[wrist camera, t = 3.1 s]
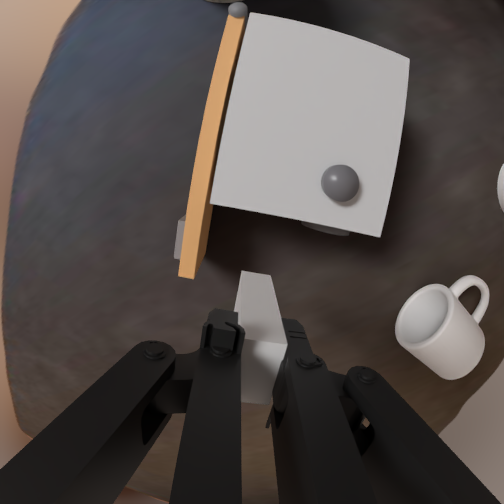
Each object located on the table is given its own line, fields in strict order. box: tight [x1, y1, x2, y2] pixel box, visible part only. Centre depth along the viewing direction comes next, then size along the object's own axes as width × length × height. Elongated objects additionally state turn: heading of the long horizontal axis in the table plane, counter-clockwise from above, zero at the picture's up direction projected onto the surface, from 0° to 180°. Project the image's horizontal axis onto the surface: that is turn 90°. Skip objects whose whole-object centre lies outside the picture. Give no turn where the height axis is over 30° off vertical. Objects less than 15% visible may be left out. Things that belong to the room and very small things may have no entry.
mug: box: [395, 275, 489, 380], centre depth 28 cm, size 12×10×8 cm
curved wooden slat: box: [174, 2, 247, 279], centre depth 23 cm, size 22×2×7 cm, turn 169°
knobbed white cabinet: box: [210, 12, 410, 237], centre depth 22 cm, size 15×12×10 cm
